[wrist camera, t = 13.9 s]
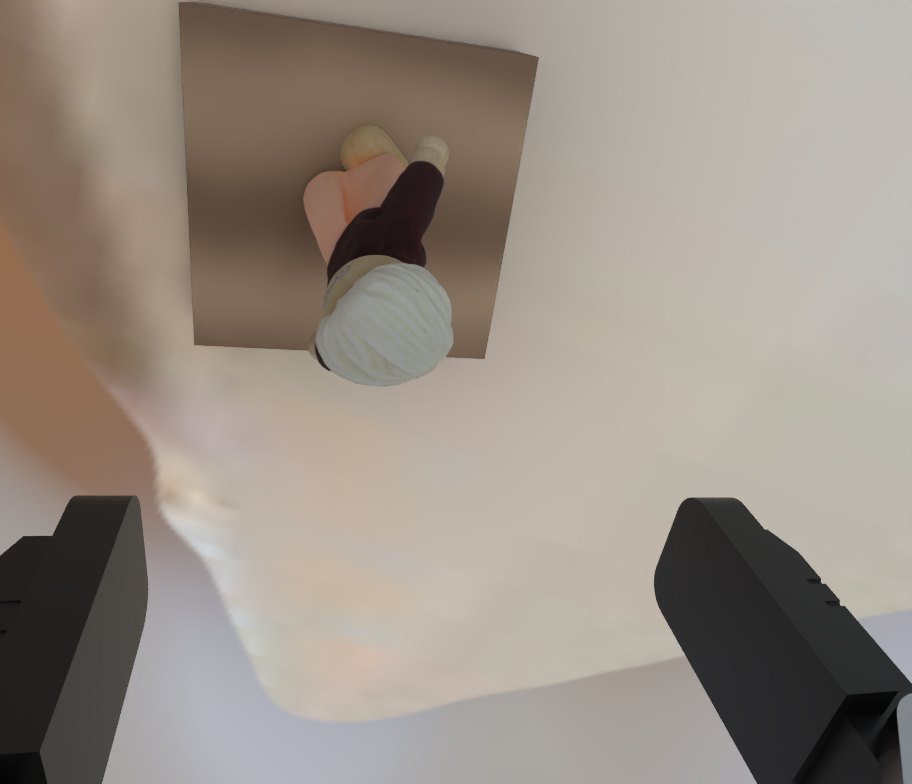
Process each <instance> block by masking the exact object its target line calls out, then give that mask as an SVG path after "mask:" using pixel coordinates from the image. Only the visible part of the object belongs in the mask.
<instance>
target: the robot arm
mask: <svg viewBox="0 0 912 784" xmlns="http://www.w3.org/2000/svg"><path fill="white" fill-rule="evenodd" d="M654 589H655V596H656V600H657V603H658V606H659V608H660V610H661V612H662V614H663V616H664V618H665V619H666V621H667V623H668V625H669V627H670V628H671V630H672V632H673V634H674V636H675V637H676V639H677V641H678V643H679V644H680V646H681V648H682V650H683V652H684V653H685V655H686V657H687V659H688V661H689V662H690V664H691V666H692V668H693V670H694V671H695V673H696V675H697V677H698V678H699V680H700V682H701V684H702V686H703V687H704V689H705V691H706V693H707V695H708V696H709V698H710V700H711V702H712V704H713V705H714V707H715V709H716V711H717V712H718V714H719V716H720V718H721V719H722V721H723V723H724V725H725V727H726V728H727V730H728V732H729V734H730V736H731V738H732V739H733V741H734V743H735V745H736V746H737V748H738V750H739V752H740V754H741V755H742V757H743V759H744V761H745V762H746V764H747V766H748V768H749V770H750V772H751V773H752V775H753V777H754V779H755V780H756V782H757V784H912V684H911V682H910V681H909V680H908V679H907V678H906V677H905V675H904V674H903V673H902V672H901V671H900V670H899V669H898V667H897V666H896V665H895V664H894V663H893V662H892V660H891V659H890V658H889V657H888V656H887V655H886V653H885V652H884V651H883V650H882V649H881V648H880V646H879V645H878V644H877V643H876V642H875V641H874V639H873V638H872V637H871V636H870V635H869V634H868V633H867V631H866V630H865V629H864V628H863V627H862V626H861V625H860V623H859V622H858V621H857V620H856V619H855V617H854V616H853V615H852V614H851V613H850V612H849V610H848V609H847V608H846V607H845V606H840V603H839V602H840V600H839V599H838V598H837V597H836V595H835V594H834V593H833V592H832V591H831V590H830V588H829V587H828V586H827V585H826V584H822V583H821V578H820V577H819V576H818V575H817V573H816V572H815V571H814V570H813V569H812V568H811V566H810V565H809V564H808V563H807V562H806V561H805V559H804V558H803V557H802V556H801V555H800V554H799V552H797V551H796V550H795V549H793V548H792V547H790V546H789V545H788V544H786V543H785V542H784V541H782V540H781V539H779V538H778V537H777V536H775V535H774V534H773V533H771V532H770V531H769V530H765V529H764V528H763V527H762V526H761V525H760V523H759V522H758V521H757V520H756V519H755V517H754V516H753V515H752V514H751V513H750V512H749V510H748V509H747V508H746V507H745V506H744V504H743V503H742V502H741V501H739V500H738V499H735V498H687V499H686V500H684V501H683V502H682V503H681V505H680V507H679V509H678V511H677V514H676V517H675V519H674V522H673V525H672V527H671V530H670V532H669V535H668V538H667V540H666V543H665V546H664V548H663V551H662V554H661V556H660V559H659V562H658V564H657V567H656V570H655V575H654ZM147 600H148V577H147V567H146V558H145V548H144V538H143V528H142V518H141V509H140V503H139V500H138V498H137V496H74V497H72V498H71V500H70V501H69V503H68V505H67V507H66V509H65V511H64V513H63V515H62V517H61V519H60V521H59V523H58V525H57V528H56V530H55V532H54V534H53V536H23V537H22V538H21V539H20V540H18V541H17V542H16V543H15V544H14V545H13V546H11V547H10V548H9V549H8V550H7V551H5V552H4V553H3V554H2V555H1V556H0V784H102V781H103V777H104V773H105V770H106V766H107V762H108V758H109V755H110V751H111V747H112V744H113V740H114V736H115V732H116V728H117V725H118V721H119V717H120V714H121V710H122V706H123V702H124V699H125V695H126V691H127V687H128V684H129V680H130V676H131V672H132V669H133V665H134V661H135V658H136V654H137V650H138V646H139V643H140V638H141V635H142V631H143V627H144V623H145V617H146V610H147Z"/></svg>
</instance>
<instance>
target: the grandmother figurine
mask: <svg viewBox="0 0 912 784" xmlns="http://www.w3.org/2000/svg"><path fill="white" fill-rule="evenodd" d="M448 158H449V149H448V147H447V145H446V143H445V142H444V140H443V139H442V138H440V137H438V136H435V135H427V136H424V137H423V138H421V139H420V140H419V141H418V142H417V144H416V146H415V149H414V155H413V156H412V158H411V160H410V162H409V163H408V162H407V160H406V159H405V157H404V156H403V155H402V153H401V152H400V150H399V149H398V148H397V146H396V145H395V144H394V142H393V141H392V140H391V139H390V137H389V136H388V135H387V134H386V133H385V132H384V131H383V130H382V129H381V128H379V127H377V126H373V125H361V126H359V127H357V128H355V129H353V130H352V131H351V132H350V133H349V134H348V135H347V137H346V138H345V139H344V141H343V142H342V145H341V149H340V159H341V163H342V165H343V167H344V169H345V170H346V172H342V171H326V172H322V173H320V174H318V175H317V176H316V177H314V178H313V179H312V180H311V181H310V182H309V183H308V185H307V187H306V189H305V192H304V196H303V201H304V207H305V212H306V215H307V218H308V220H309V223H310V226H311V229H312V231H313V233H314V235H315V237H316V240H317V243H318V246H319V249H320V251H321V253H322V256H323V258H324V260H325V262H326V263H327V265H328V266H327V277H328V282H327V289H326V293H325V296H324V305H323V308H324V316H325V317H324V318H323V319H322V320H321V322H320V324H319V327H318V330H317V332H315V333H314V334H313V335H312V336H311V337H310V339H309V341H308V350H309V352H310V354H311V355H312V356H313V357H314V358H315V359H317V360H318V361H319V363H320V364H321V365H322V366H323V367H324V368H325V369H327V370H329V371H332V372H334V373H335V374H337V375H338V376H340V377H342V378H344V379H347V380H349V381H352V382H354V383H357V384H362V385H371V386H392V385H399V384H402V383H405V382H408V381H410V380H412V379H414V378H418V377H420V376H422V375H425V374H427V373H429V372H430V371H432V370H433V369H434V368H435V367H436V365H437V364H438V363H439V362H440V361H441V360H443V359H444V358H445V357H446V356H447V354H448V353H449V351H450V349H451V347H452V345H453V329H452V327H451V321H452V318H451V315H452V309H451V303H450V300H449V298H448V295H447V293H446V291H445V289H444V288H443V287H442V286H441V285H440V284H439V283H438V281H437V280H436V278H435V277H434V276H433V275H432V274H430V272H429V271H427V270H426V269H424V267H425V265H426V259H427V258H426V252H425V249H424V247H423V245H422V242H421V240H422V236H423V234H424V233H425V232H426V230H427V228H428V227H429V225H430V223H431V220H432V219H433V216H434V212H435V208H436V205H437V202H438V199H439V197H440V194H441V192H442V188H443V186H444V179H443V177H444V173H445V165H446V164H447V161H448Z"/></svg>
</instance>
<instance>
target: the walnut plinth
mask: <svg viewBox="0 0 912 784" xmlns="http://www.w3.org/2000/svg"><path fill="white" fill-rule="evenodd" d="M179 18H180V40H181V62H182V84H183V106H184V128H185V150H186V172H187V194H188V216H189V238H190V260H191V281H192V303H193V325H194V345H204V346H225V347H246V348H267V349H288V350H308V341H309V339H310V337H311V336H312V335H313V334H314V333H315V332H317V330H318V327H319V324H320V322H321V320H322V319H323V318H324V317H325V316H324V308H323V305H324V296H325V293H326V289H327V282H328V277H327V266H328V265H327V263H326V262H325V260H324V258H323V256H322V253H321V251H320V249H319V246H318V243H317V240H316V237H315V235H314V233H313V231H312V229H311V226H310V223H309V220H308V218H307V215H306V212H305V207H304V201H303V196H304V192H305V189H306V187H307V185H308V183H309V182H310V181H311V180H312V179H313V178H314V177H316V176H317V175H318V174H320V173H322V172H326V171H342V172H346V170H345V169H344V167H343V165H342V163H341V159H340V149H341V145H342V142H343V141H344V139H345V138H346V137H347V135H348V134H349V133H350V132H351V131H352V130H353V129H355V128H357V127H359V126H361V125H373V126H377V127H379V128H381V129H382V130H383V131H384V132H385V133H386V134H387V135H388V136H389V137H390V139H391V140H392V141H393V142H394V144H395V145H396V146H397V148H398V149H399V150H400V152H401V153H402V155H403V156H404V157H405V159H406V160H407V162H408V163H409V162H410V160H411V158H412V156H413V155H414V149H415V146H416V144H417V142H418V141H419V140H420V139H421V138H423V137H424V136H427V135H435V136H438V137H440V138H442V139H443V140H444V142H445V143H446V145H447V147H448V149H449V158H448V161H447V164H446V165H445V173H444V177H443V179H444V186H443V188H442V192H441V194H440V197H439V199H438V202H437V205H436V208H435V212H434V216H433V219H432V220H431V223H430V225H429V227H428V228H427V230H426V232H425V233H424V234H423V236H422V240H421V242H422V245H423V247H424V249H425V252H426V258H427V259H426V265H425V267H424V269H426V270H427V271H429V272H430V274H432V275H433V276H434V277H435V278H436V280H437V281H438V283H439V284H440V285H441V286H442V287H443V288H444V289H445V291H446V293H447V295H448V298H449V300H450V303H451V309H452V315H451V318H452V321H451V327H452V329H453V345H452V347H451V349H450V351H449V353H448V354H447V356H446V357H455V358H476V359H485V353H486V348H487V342H488V336H489V331H490V325H491V320H492V314H493V309H494V303H495V298H496V292H497V287H498V281H499V275H500V270H501V264H502V259H503V253H504V248H505V242H506V237H507V231H508V225H509V220H510V214H511V209H512V203H513V198H514V192H515V187H516V181H517V175H518V170H519V164H520V159H521V153H522V148H523V142H524V137H525V131H526V125H527V120H528V114H529V109H530V103H531V98H532V92H533V87H534V81H535V75H536V70H537V64H538V59H539V57H535V56H531V55H528V54H524V53H521V52H517V51H511V50H504V49H498V48H491V47H485V46H478V45H472V44H465V43H459V42H452V41H446V40H439V39H433V38H426V37H420V36H413V35H406V34H400V33H393V32H387V31H380V30H374V29H367V28H361V27H354V26H348V25H341V24H335V23H328V22H322V21H315V20H309V19H302V18H296V17H289V16H283V15H276V14H270V13H263V12H257V11H250V10H244V9H237V8H231V7H224V6H218V5H211V4H205V3H198V2H180V3H179Z"/></svg>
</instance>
